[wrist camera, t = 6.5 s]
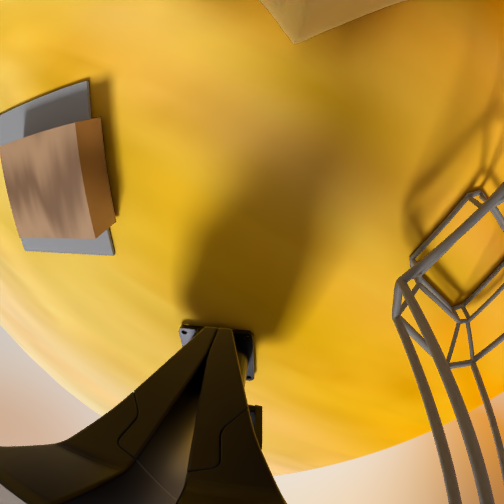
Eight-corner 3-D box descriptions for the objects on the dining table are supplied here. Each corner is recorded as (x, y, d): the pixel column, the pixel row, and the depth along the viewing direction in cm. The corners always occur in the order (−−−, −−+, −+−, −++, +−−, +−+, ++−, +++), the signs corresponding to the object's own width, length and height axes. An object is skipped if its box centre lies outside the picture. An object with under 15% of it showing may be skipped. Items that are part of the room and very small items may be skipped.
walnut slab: (95, 239, 18) (19, 237, 20) (116, 221, 21) (40, 223, 22) (75, 122, 15) (-2, 146, 16) (100, 116, 17) (23, 138, 18)
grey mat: (115, 253, 23) (113, 255, 23) (26, 249, 24) (24, 250, 24) (89, 80, 16) (86, 80, 16) (-2, 116, 18) (-4, 116, 17)
